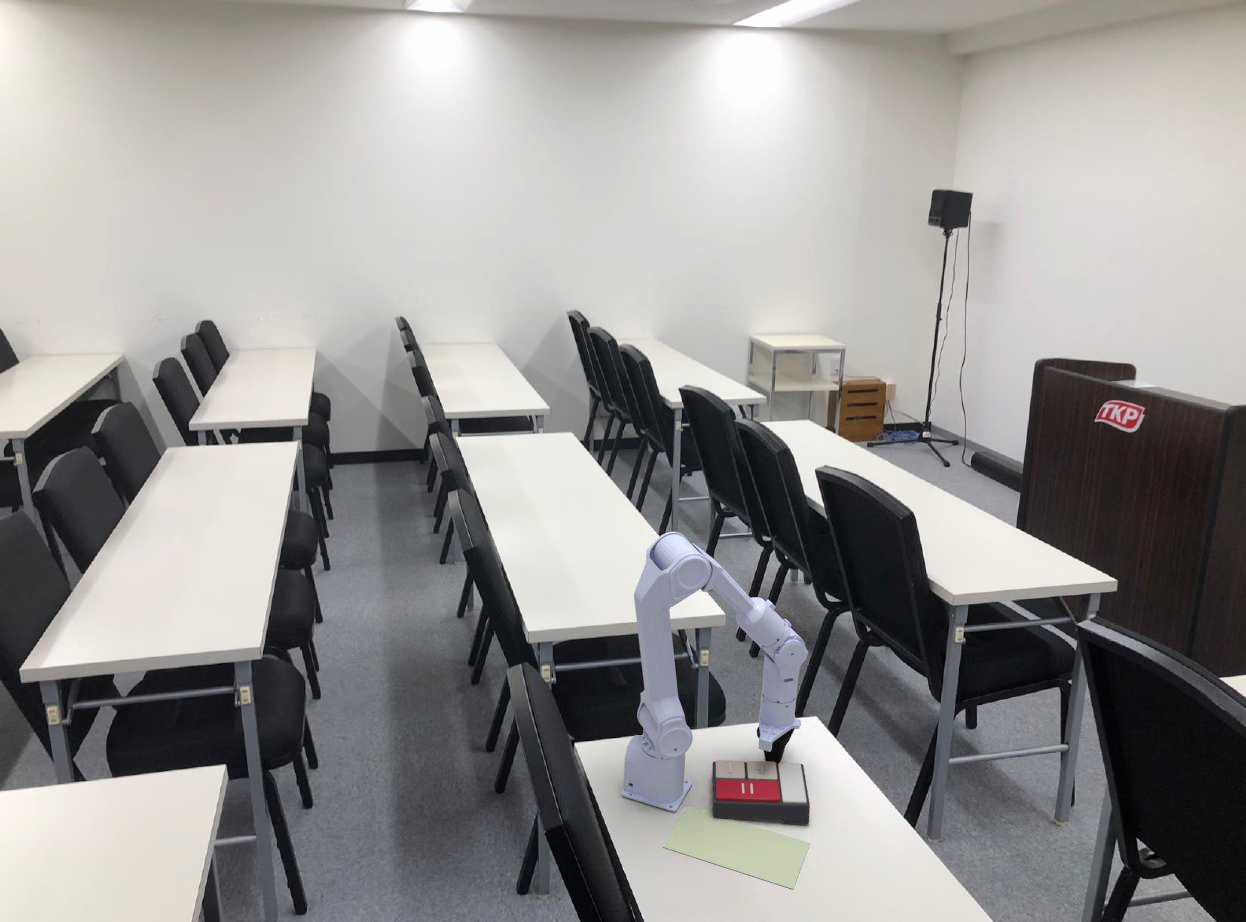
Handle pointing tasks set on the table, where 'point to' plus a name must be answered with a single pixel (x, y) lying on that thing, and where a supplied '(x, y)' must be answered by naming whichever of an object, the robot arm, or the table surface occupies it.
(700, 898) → the table surface
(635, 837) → the table surface
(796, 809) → the button box
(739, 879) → the table surface
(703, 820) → the mat
